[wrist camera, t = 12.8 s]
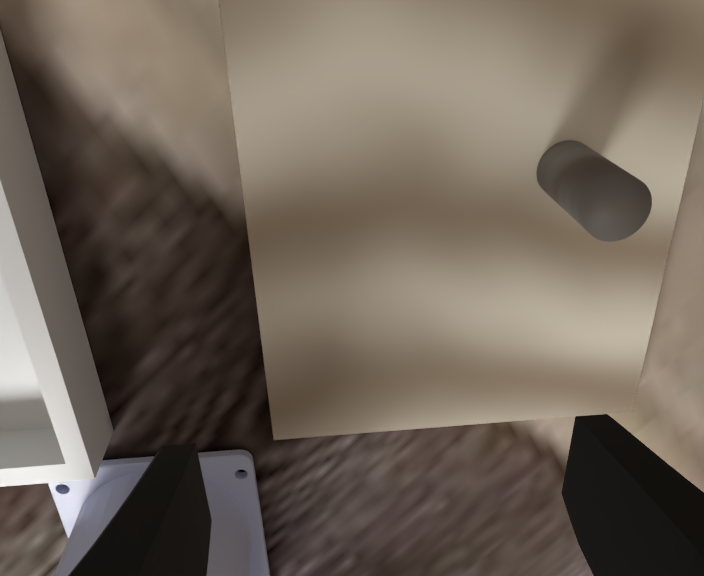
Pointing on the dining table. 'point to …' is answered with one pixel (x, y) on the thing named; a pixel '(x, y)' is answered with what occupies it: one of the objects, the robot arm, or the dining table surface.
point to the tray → (40, 327)
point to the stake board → (458, 201)
